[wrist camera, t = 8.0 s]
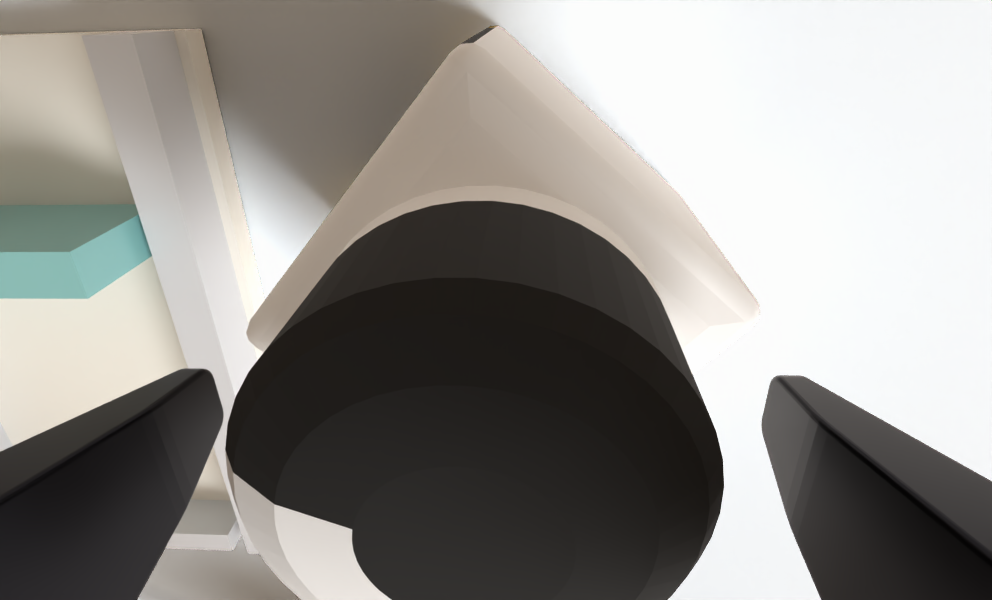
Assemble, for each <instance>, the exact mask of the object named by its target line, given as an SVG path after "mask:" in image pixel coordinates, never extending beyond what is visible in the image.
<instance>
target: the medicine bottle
mask: <svg viewBox="0 0 992 600" xmlns="http://www.w3.org/2000/svg"><path fill="white" fill-rule="evenodd" d="M759 316H760V306H759V304H758V302H757V300H756V298H755V297H754V296H753V294H752V293H751V291H750V290H749V289H748V287H747V286H746V285H745V283H744V282H743V280H742V279H741V278H740V276H739V275H738V274H737V272H736V271H735V270H734V268H733V267H732V265H731V264H730V263H729V261H728V260H727V259H726V257H725V256H724V254H723V253H722V252H721V250H720V249H719V248H718V246H717V245H716V244H715V242H714V241H713V239H712V238H711V237H710V235H709V234H708V233H707V231H706V230H705V228H704V227H703V226H702V224H701V223H700V222H699V220H698V219H697V218H696V216H695V215H694V213H693V212H692V211H691V209H690V208H689V207H688V205H687V204H686V202H685V201H684V200H683V198H682V197H681V196H680V194H679V193H678V192H677V191H676V190H675V189H674V188H673V187H672V186H670V185H669V184H668V183H667V182H666V181H665V180H664V179H663V178H662V177H661V176H660V175H659V174H658V173H657V172H656V171H655V170H654V169H652V168H651V167H650V166H649V165H648V164H647V163H646V162H645V161H644V160H643V159H642V158H641V157H640V156H639V155H638V154H637V153H635V152H634V151H633V150H632V149H631V148H630V147H629V146H628V145H627V144H626V143H625V142H624V141H623V140H622V139H621V138H620V137H619V136H617V135H616V134H615V133H614V132H613V131H612V130H611V129H610V128H609V127H608V126H607V125H606V124H605V123H604V122H603V121H602V120H600V119H599V118H598V117H597V116H596V115H595V114H594V113H593V112H592V111H591V110H590V109H589V108H588V107H587V106H586V105H585V104H584V103H582V102H581V101H580V100H579V99H578V98H577V97H576V96H575V95H574V94H573V93H572V92H571V91H570V90H569V89H568V88H567V87H565V86H564V85H563V84H562V83H561V82H560V81H559V80H558V79H557V78H556V77H555V76H554V75H553V74H552V73H551V72H550V71H549V70H547V69H546V68H545V67H544V66H543V65H542V64H541V63H540V62H539V61H538V60H537V59H536V58H535V57H534V56H533V55H532V54H530V53H529V52H528V51H527V50H526V49H525V48H524V47H523V46H522V45H521V44H520V43H519V42H518V41H517V40H516V39H515V38H514V37H512V36H511V35H510V34H509V33H508V32H507V31H506V30H505V29H503V28H501V27H499V26H490V27H488V28H487V29H485V30H483V31H482V32H480V33H478V34H476V35H475V36H473V37H471V38H470V39H468V40H466V41H465V42H463V43H461V44H460V45H459V46H457V47H456V48H455V49H453V50H452V51H451V52H450V53H449V55H448V56H447V57H446V59H445V60H444V61H443V63H442V64H441V65H440V67H439V68H438V69H437V71H436V72H435V73H434V75H433V76H432V77H431V79H430V80H429V81H428V83H427V84H426V85H425V87H424V88H423V89H422V91H421V92H420V93H419V95H418V96H417V97H416V99H415V100H414V101H413V103H412V104H411V105H410V107H409V108H408V109H407V111H406V112H405V113H404V115H403V116H402V117H401V119H400V120H399V121H398V123H397V124H396V125H395V127H394V128H393V129H392V131H391V132H390V133H389V135H388V136H387V137H386V139H385V140H384V142H383V143H382V144H381V146H380V147H379V148H378V150H377V151H376V152H375V154H374V155H373V156H372V158H371V159H370V160H369V162H368V163H367V164H366V166H365V167H364V168H363V170H362V171H361V172H360V174H359V175H358V176H357V178H356V179H355V180H354V182H353V183H352V184H351V186H350V187H349V188H348V190H347V191H346V192H345V194H344V195H343V196H342V198H341V199H340V200H339V202H338V203H337V204H336V206H335V207H334V208H333V210H332V211H331V212H330V214H329V215H328V216H327V218H326V219H325V220H324V222H323V223H322V224H321V226H320V227H319V228H318V230H317V231H316V232H315V234H314V235H313V236H312V238H311V239H310V240H309V242H308V243H307V244H306V246H305V247H304V248H303V250H302V251H301V252H300V254H299V255H298V256H297V258H296V259H295V260H294V262H293V263H292V264H291V266H290V267H289V269H288V270H287V271H286V273H285V274H284V275H283V277H282V278H281V279H280V281H279V282H278V283H277V285H276V286H275V287H274V289H273V290H272V291H271V293H270V294H269V295H268V297H267V298H266V299H265V301H264V302H263V303H262V305H261V306H260V307H259V309H258V310H257V311H256V313H255V314H254V315H253V317H252V318H251V319H250V322H249V325H248V328H247V331H246V334H247V337H248V340H249V341H250V342H251V343H252V344H253V345H254V346H255V347H257V348H258V349H260V350H261V351H263V352H264V353H263V354H262V355H261V357H260V358H259V359H258V360H257V362H256V363H255V364H254V366H253V367H252V368H251V369H250V371H249V372H248V374H247V376H246V378H245V380H244V382H243V384H242V386H241V387H240V389H239V391H238V393H237V395H236V397H235V400H234V404H233V407H232V410H231V414H230V417H229V420H228V425H227V435H226V446H225V454H226V464H227V475H228V479H229V483H230V486H231V490H232V494H233V497H234V501H235V504H236V506H237V509H238V512H239V515H240V517H241V520H242V522H243V524H244V527H245V529H246V531H247V533H248V535H249V537H250V540H251V542H252V543H253V545H254V546H255V548H256V550H257V551H258V553H259V554H260V556H261V557H262V559H263V560H264V562H265V563H266V564H267V566H268V567H269V568H270V569H271V570H272V571H273V572H274V574H275V575H276V576H277V577H278V578H279V579H280V581H281V582H282V583H283V584H284V585H286V586H287V587H288V588H289V589H290V590H291V591H292V592H293V593H294V594H295V595H297V596H298V597H299V598H300V599H301V600H667V599H668V598H670V597H671V596H672V594H673V593H674V592H675V591H676V589H677V588H678V587H679V586H680V584H681V583H682V582H683V581H684V580H685V578H686V577H687V576H688V574H689V573H690V571H691V570H692V569H693V567H694V566H695V564H696V563H697V561H698V560H699V558H700V557H701V555H702V553H703V551H704V549H705V548H706V546H707V544H708V542H709V541H710V539H711V537H712V534H713V531H714V528H715V526H716V523H717V520H718V517H719V514H720V509H721V503H722V496H723V489H724V477H723V459H722V454H721V450H720V446H719V442H718V438H717V434H716V430H715V428H714V425H713V423H712V421H711V418H710V416H709V413H708V411H707V409H706V406H705V404H704V401H703V399H702V397H701V394H700V392H699V389H698V387H697V384H696V382H695V380H694V377H693V374H694V373H695V372H696V371H698V370H699V369H700V368H701V367H703V366H704V365H705V364H707V363H708V362H709V361H710V360H712V359H713V358H714V357H715V356H717V355H718V354H719V353H720V352H722V351H723V350H724V349H726V348H727V347H728V346H729V345H731V344H732V343H733V342H734V341H736V340H737V339H738V338H740V337H741V336H742V335H743V334H745V333H746V332H747V331H748V330H750V329H751V328H752V327H753V326H754V325H755V324H756V323H757V321H758V320H759Z"/></svg>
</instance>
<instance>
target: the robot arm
mask: <svg viewBox="0 0 992 600" xmlns="http://www.w3.org/2000/svg"><path fill="white" fill-rule="evenodd" d="M223 418H224V412H223V407H222V403H221V400H220V397H219V393H218V390H217V387H216V383H215V380H214V377H213V374H212V373H211V372H210V371H209V370H207V369H203V368H184V369H180V370H177V371H175V372H173V373H171V374H169V375H166V376H164V377H162V378H160V379H158V380H155V381H153V382H151V383H149V384H147V385H145V386H142V387H140V388H138V389H136V390H134V391H131V392H129V393H127V394H125V395H123V396H120V397H118V398H116V399H114V400H112V401H110V402H107V403H105V404H103V405H101V406H99V407H96V408H94V409H92V410H90V411H88V412H86V413H83V414H81V415H79V416H77V417H75V418H72V419H70V420H68V421H66V422H64V423H61V424H59V425H57V426H55V427H53V428H51V429H48V430H46V431H44V432H42V433H40V434H37V435H35V436H33V437H31V438H29V439H27V440H24V441H22V442H20V443H18V444H16V445H13V446H11V447H9V448H7V449H5V450H3V451H0V600H137V599H138V597H139V595H140V593H141V592H142V590H143V588H144V586H145V584H146V582H147V581H148V579H149V577H150V575H151V573H152V571H153V570H154V568H155V566H156V564H157V562H158V560H159V559H160V557H161V555H162V553H163V551H164V550H165V548H166V546H167V544H168V542H169V540H170V539H171V537H172V535H173V533H174V531H175V529H176V528H177V526H178V524H179V522H180V520H181V518H182V516H183V514H184V512H185V511H186V509H187V506H188V504H189V502H190V500H191V498H192V496H193V493H194V491H195V489H196V486H197V484H198V482H199V479H200V477H201V474H202V472H203V470H204V467H205V465H206V462H207V460H208V458H209V455H210V453H211V450H212V448H213V446H214V443H215V441H216V439H217V436H218V434H219V431H220V429H221V427H222V424H223ZM762 433H763V437H764V441H765V444H766V447H767V451H768V454H769V458H770V461H771V464H772V468H773V471H774V475H775V478H776V481H777V485H778V488H779V492H780V495H781V498H782V502H783V505H784V509H785V512H786V515H787V518H788V521H789V524H790V527H791V529H792V532H793V534H794V537H795V539H796V542H797V544H798V546H799V549H800V551H801V553H802V556H803V558H804V560H805V563H806V565H807V567H808V570H809V572H810V574H811V577H812V579H813V582H814V584H815V586H816V589H817V591H818V593H819V596H820V598H821V600H992V481H990V480H988V479H987V478H985V477H983V476H981V475H979V474H978V473H976V472H974V471H972V470H971V469H969V468H967V467H965V466H963V465H962V464H960V463H958V462H956V461H954V460H953V459H951V458H949V457H947V456H945V455H944V454H942V453H940V452H938V451H937V450H935V449H933V448H931V447H929V446H928V445H926V444H924V443H922V442H920V441H919V440H917V439H915V438H913V437H911V436H910V435H908V434H906V433H904V432H903V431H901V430H899V429H897V428H895V427H894V426H892V425H890V424H888V423H886V422H885V421H883V420H881V419H879V418H877V417H876V416H874V415H872V414H870V413H869V412H867V411H865V410H863V409H861V408H860V407H858V406H856V405H854V404H852V403H851V402H849V401H847V400H845V399H844V398H842V397H840V396H838V395H836V394H835V393H833V392H831V391H829V390H827V389H826V388H824V387H822V386H820V385H819V384H817V383H815V382H813V381H811V380H810V379H808V378H806V377H804V376H787V375H778V376H776V377H774V378H773V379H772V381H771V383H770V386H769V390H768V395H767V399H766V404H765V408H764V413H763V417H762Z"/></svg>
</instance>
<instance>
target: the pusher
mask: <svg viewBox="0 0 992 600" xmlns="http://www.w3.org/2000/svg"><path fill="white" fill-rule="evenodd" d="M151 256H152V254H151V251H150V248H149V245H148V241H147V238H146V235H145V232H144V229H143V226H142V223H141V220H140V217H139V213H138V210H137V207H136V204H107V205H0V299H89V298H90V297H92V296H93V295H95V294H96V293H98V292H99V291H101V290H102V289H103V288H105V287H106V286H108V285H109V284H111V283H112V282H114V281H115V280H117V279H118V278H120V277H121V276H123V275H124V274H126V273H127V272H129V271H130V270H132V269H133V268H135V267H136V266H138V265H139V264H141V263H142V262H144V261H145V260H147V259H148V258H150V257H151Z"/></svg>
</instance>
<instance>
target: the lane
mask: <svg viewBox="0 0 992 600" xmlns="http://www.w3.org/2000/svg"><path fill="white" fill-rule="evenodd" d="M107 204H136V207H137V210H138V213H139V217H140V220H141V223H142V226H143V229H144V232H145V235H146V238H147V241H148V245H149V248H150V251H151V254H152V256H151V257H150V258H148V259H147V260H145V261H144V262H142V263H141V264H139V265H138V266H136V267H135V268H133V269H132V270H130V271H129V272H127V273H126V274H124V275H123V276H121V277H120V278H118V279H117V280H115V281H114V282H112V283H111V284H109V285H108V286H106V287H105V288H103V289H102V290H101V291H99V292H98V293H96V294H95V295H93V296H92V297H90V298H89V299H0V451H3V450H5V449H7V448H9V447H11V446H13V445H16V444H18V443H20V442H22V441H24V440H27V439H29V438H31V437H33V436H35V435H37V434H40V433H42V432H44V431H46V430H48V429H51V428H53V427H55V426H57V425H59V424H61V423H64V422H66V421H68V420H70V419H72V418H75V417H77V416H79V415H81V414H83V413H86V412H88V411H90V410H92V409H94V408H96V407H99V406H101V405H103V404H105V403H107V402H110V401H112V400H114V399H116V398H118V397H120V396H123V395H125V394H127V393H129V392H131V391H134V390H136V389H138V388H140V387H142V386H145V385H147V384H149V383H151V382H153V381H155V380H158V379H160V378H162V377H164V376H166V375H169V374H171V373H173V372H175V371H177V370H180V369H184V368H203V369H207V370H209V371H210V372H211V373H212V374H213V377H214V380H215V383H216V387H217V390H218V393H219V397H220V400H221V403H222V407H223V412H224V418H223V424H222V427H221V429H220V431H219V434H218V436H217V439H216V441H215V443H214V446H213V448H212V450H211V453H210V455H209V458H208V460H207V462H206V465H205V467H204V470H203V472H202V474H201V477H200V479H199V482H198V484H197V486H196V489H195V491H194V493H193V496H192V498H191V500H190V502H189V504H188V506H187V509H186V511H185V512H184V514H183V516H182V518H181V520H180V522H179V524H178V526H177V528H176V529H175V531H174V533H173V535H172V537H171V539H170V540H169V542H168V544H167V546H166V548H165V549H192V550H222V551H233V550H234V548H235V546H236V544H237V543H238V541H239V539H240V537H241V535H242V537H243V540H244V543H245V546H246V550H247V553H248V554H259V553H258V551H257V550H256V548H255V546H254V545H253V543H252V542H251V540H250V537H249V535H248V533H247V531H246V529H245V527H244V524H243V522H242V520H241V517H240V515H239V512H238V509H237V506H236V504H235V501H234V497H233V494H232V490H231V486H230V483H229V479H228V475H227V464H226V454H225V446H226V435H227V425H228V420H229V417H230V414H231V410H232V407H233V404H234V400H235V397H236V395H237V393H238V391H239V389H240V387H241V386H242V384H243V382H244V380H245V378H246V376H247V374H248V372H249V371H250V369H251V368H252V367H253V366H254V364H255V363H256V362H257V360H258V359H259V358H260V357H261V355H262V354H263V353H264V352H263V351H261V350H260V349H258V348H257V347H255V346H254V345H253V344H252V343H251V342H250V341H249V340H248V337H247V334H246V331H247V328H248V325H249V322H250V319H251V318H252V317H253V315H254V314H255V313H256V311H257V310H258V309H259V307H260V306H261V305H262V303H263V302H264V301H265V298H264V294H263V290H262V285H261V281H260V277H259V273H258V268H257V264H256V260H255V256H254V251H253V247H252V243H251V239H250V234H249V230H248V226H247V222H246V217H245V213H244V209H243V205H242V200H241V196H240V192H239V187H238V183H237V179H236V175H235V170H234V166H233V162H232V158H231V153H230V149H229V145H228V141H227V136H226V132H225V128H224V124H223V119H222V115H221V111H220V107H219V102H218V98H217V94H216V89H215V85H214V81H213V77H212V72H211V68H210V64H209V60H208V55H207V51H206V47H205V43H204V38H203V34H202V30H201V29H171V30H137V31H104V32H70V33H36V34H2V35H0V205H107Z"/></svg>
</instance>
